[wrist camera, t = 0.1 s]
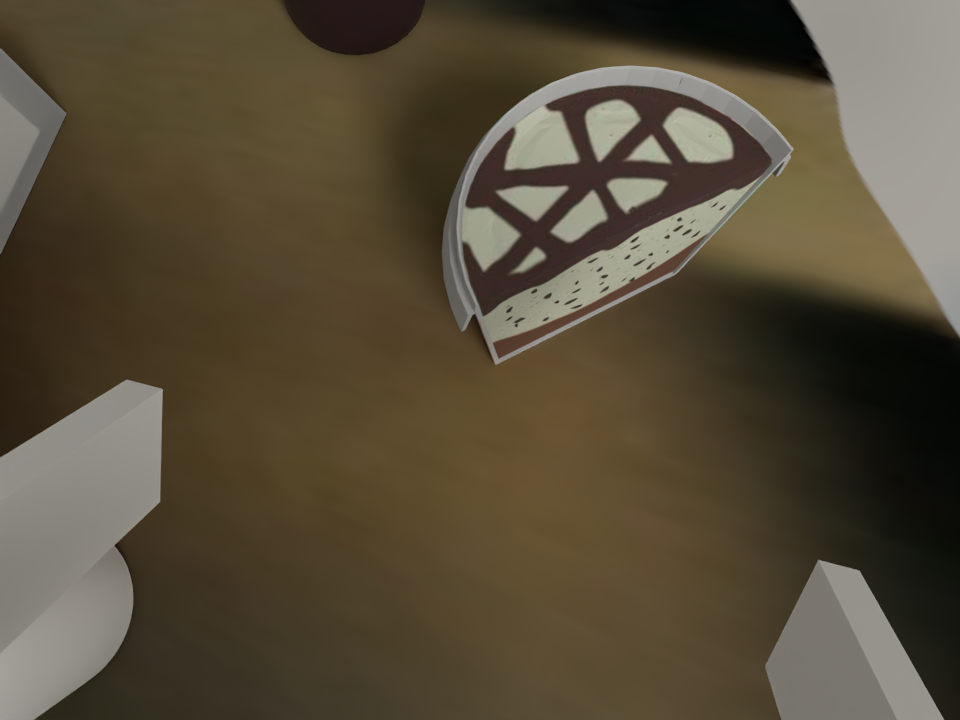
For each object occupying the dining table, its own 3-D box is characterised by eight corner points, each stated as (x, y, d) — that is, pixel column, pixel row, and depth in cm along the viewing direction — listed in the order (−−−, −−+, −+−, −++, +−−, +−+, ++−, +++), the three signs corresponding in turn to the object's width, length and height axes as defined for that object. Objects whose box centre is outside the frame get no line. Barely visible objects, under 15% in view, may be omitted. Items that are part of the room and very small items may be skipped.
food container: (636, 152, 32) (705, -6, 23) (704, 260, 31) (808, 142, 21) (404, 263, 31) (371, 146, 21) (465, 380, 30) (459, 313, 20)
